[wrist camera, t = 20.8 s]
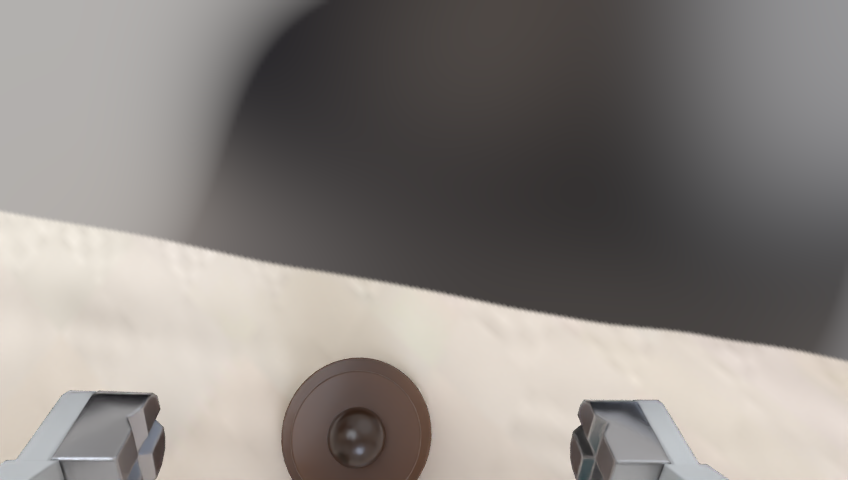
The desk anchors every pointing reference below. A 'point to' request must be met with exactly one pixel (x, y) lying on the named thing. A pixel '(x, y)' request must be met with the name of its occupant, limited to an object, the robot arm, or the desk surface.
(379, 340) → the desk surface
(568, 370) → the desk surface
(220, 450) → the desk surface
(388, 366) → the lid
